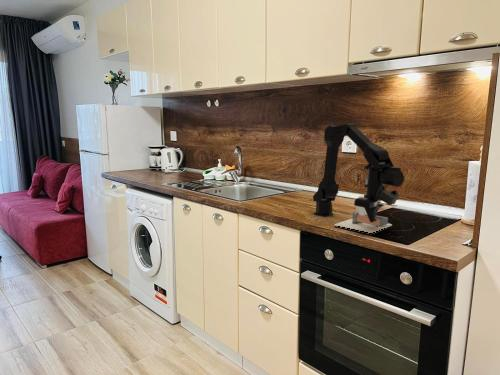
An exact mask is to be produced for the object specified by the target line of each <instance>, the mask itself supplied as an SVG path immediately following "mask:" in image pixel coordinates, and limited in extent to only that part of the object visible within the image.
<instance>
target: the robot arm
mask: <svg viewBox="0 0 500 375" xmlns="http://www.w3.org/2000/svg"><path fill="white" fill-rule="evenodd" d="M323 133H324V136H323V137H324V138H323V140H324V142H325V144H326V151H325V152H326V154H325V162H324V171H323V178H322V180H320V182H319V183H318V188H317V191H316V192H315V193H314V194H313V196H312V200H313V201H314V202H315V204H316V205H315V212H313V214H314V215H318V216H322V217H328V216H331V215H332V216H333V215H334V213H333V204H332V202H335V201H336V197H337V196H338V194H339V188H340V185H339V184H338V183H337V182H336V173H337V163H338V157H339V149H340V147H341V145H342V144H343V143H344V139H345V137H348V138H349V139H350V141H352V142H353V143H354V144H355V146H357V147H358V148H359V149H360V151H361V152H362V154H363V158H364V159H365V160H366V162H367V163H368V164H367V165H365V166H364V168H363V169H364V170H368V173H367V177H368V182H367V184H366V183H365V185H364V187H365V188H366V187H367V188H366V194H363V196H364V198H363V197H361V198H359V197H358V198H355V199H354V203H353V205H354V206H355V207H356V206H359V207H364V208H365V210H366V213H367V215H368V218H369V220H370V222H373V221H374V219H375V217H376V216H377V214H378V212H379V211H380V210H381V208H382V207H384V206H385V204H386V205H387V206H392V205H395V204H396V202H397V201H398V200H399V199H400V198H399V191H397V190H395V189H393V190H392V191H391V190H387V185H388V186H393V187H401V186H402V185H403V182H404V181H405V175H404V173H403V171H402V168H401V167H400V166H394V164H393V162H392V160H391V157H390V156H389V155H390V154H389V151H388V150H387V149H385V148H384V147H382V146H380V145H378V144H376V143H374V142H372V140H370V139H369V137H367V136H366V135H365V134H364V133H363V132H362V131H361V130H360V129H359V128H358V127H357V126H356V124H354V123H345V124H341V125H328V126H326V127H325V129H324V132H323ZM382 202H384V203H385V204H382ZM379 209H380V210H379Z"/></svg>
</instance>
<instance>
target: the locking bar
mask: <svg viewBox="0 0 500 375" xmlns="http://www.w3.org/2000/svg"><path fill="white" fill-rule="evenodd" d="M351 216H352V218H351V219H352V223H353V224H358V222H362V223H366V224H371V225H375V226H379V224H380V219H377V218H375V219H374V221H373V222H370V220H369V218H368V216H364V215H359V213H358V212H356V211H353V212H352V215H351Z"/></svg>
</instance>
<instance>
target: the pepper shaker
mask: <svg viewBox="0 0 500 375" xmlns="http://www.w3.org/2000/svg"><path fill="white" fill-rule="evenodd" d="M361 197H363V198H364V195H359V196H358V198H361ZM355 208H356V209H355V212H358V213H359V215H366V214H367V213H366V210H365V208H364V207H359V206H355Z"/></svg>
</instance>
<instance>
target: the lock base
mask: <svg viewBox="0 0 500 375" xmlns="http://www.w3.org/2000/svg"><path fill="white" fill-rule="evenodd" d="M364 216H368V215H367V214H366V215H364ZM375 218H377V219H380V224H379V226H375V225H371V224H366V223H362V222H358V224H353V223H352V218H349V219H346V220H343V221H339V222H337V223H334V227H338V226H340V227H339V228H342V227H345V228H344V229H347V228H350V229H349V230H351V229H355V230H359V231H358V232H360V231H364V232H368V233H367V234H369V233H373V232H375V233H377V232H376V231H378V232H380V231H382V230H381V229H383V230H385V229H388V228H389V227H392V226H393V224H391V223H389V217H386V216H380V215H376V217H375ZM384 228H385V229H384ZM355 230H354V231H355ZM379 230H380V231H379ZM364 232H363V233H364ZM373 234H374V233H373Z"/></svg>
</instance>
